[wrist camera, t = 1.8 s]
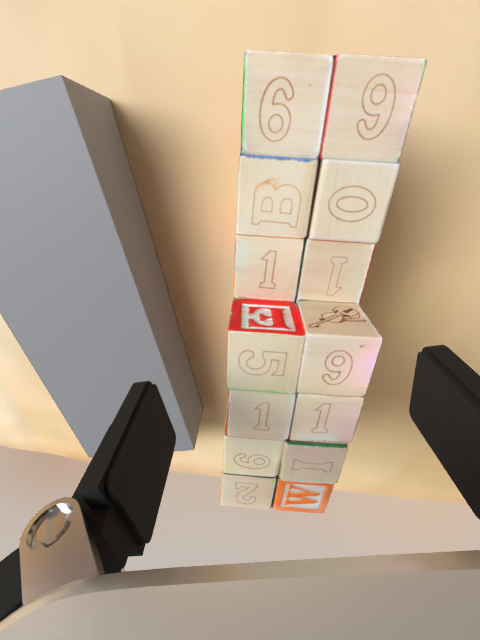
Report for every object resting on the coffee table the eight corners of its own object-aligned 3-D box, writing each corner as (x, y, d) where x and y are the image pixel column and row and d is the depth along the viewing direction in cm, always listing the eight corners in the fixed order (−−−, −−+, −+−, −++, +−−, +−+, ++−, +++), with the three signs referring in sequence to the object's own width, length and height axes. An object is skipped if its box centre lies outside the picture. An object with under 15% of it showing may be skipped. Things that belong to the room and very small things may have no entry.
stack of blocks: (249, 102, 18) (240, -11, 7) (351, 108, 17) (511, 6, 7) (232, 376, 28) (218, 510, 17) (297, 381, 27) (325, 519, 17)
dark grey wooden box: (109, 99, 18) (61, 75, 13) (203, 407, 29) (194, 449, 25) (-32, 131, 19) (-120, 119, 14) (113, 415, 31) (88, 457, 26)
